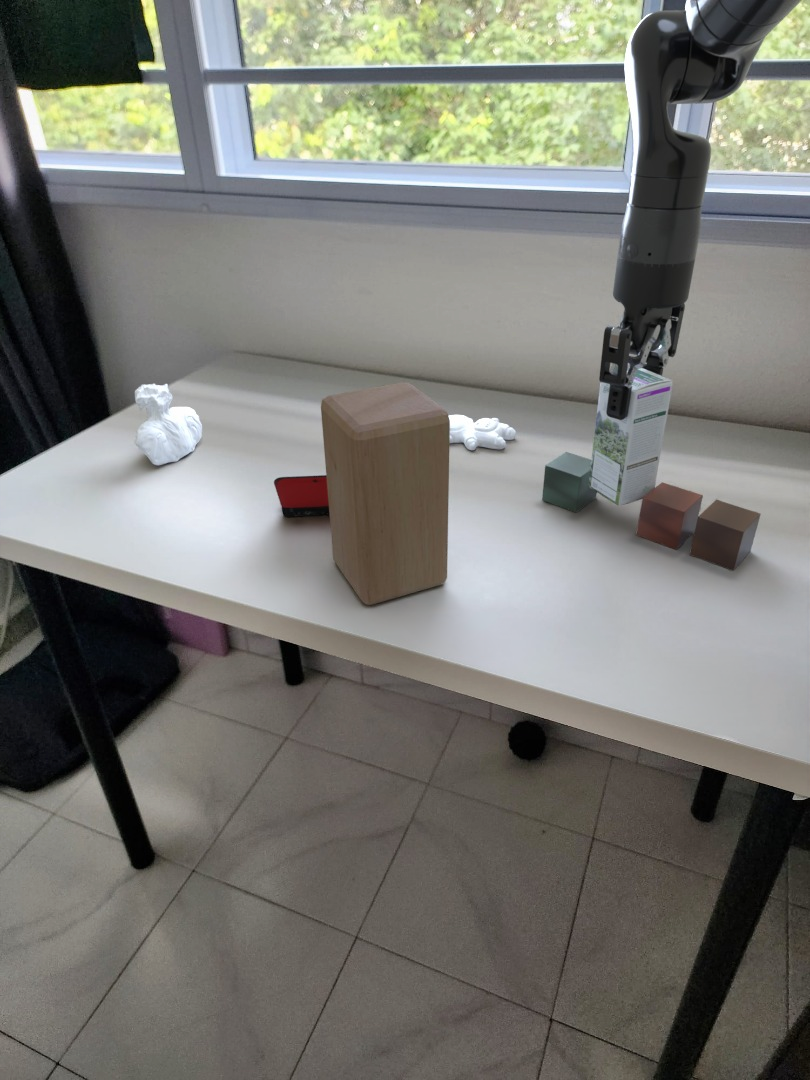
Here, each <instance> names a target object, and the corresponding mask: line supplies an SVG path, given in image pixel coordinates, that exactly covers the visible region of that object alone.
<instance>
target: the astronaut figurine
mask: <svg viewBox="0 0 810 1080" xmlns="http://www.w3.org/2000/svg"><path fill="white" fill-rule="evenodd" d="M448 416H449V419H450V443H449V445H450V444H457V443H458V444H459V443H463V444H464V446H465V448H466V449H467V450H469V451H475V450H476V449H477V448H478V447H480V448H481V447H482V448H487V449H491V450H503V449H504V448H505V447H506V444H507V442H506V440H507V441H513V440H515V439H516V436H517V431H516V430H515V429H514V427H510V425H509V424H507V423H502V422H500V419H499V418H497V417H492V418H488V417H483V418H480V419H478V420H476V421H475V422H474V420H473V418H470V417H469V416H466V415H463V414H451V415H450V414H449V415H448Z"/></svg>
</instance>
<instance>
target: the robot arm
mask: <svg viewBox="0 0 810 1080" xmlns="http://www.w3.org/2000/svg"><path fill="white" fill-rule="evenodd" d="M802 1H803V0H686V2H685V7H684V8H685V9H682V10H679V9H675V10H671V9H670V10H656V11H653V12H650V13H649V14H647V15H646V16H644V17H643V19H641V20H640V21H639V23H638V24H637V26H636V27H635V28H634V30H633V31H632V34H631V35H630V38H629V40H628V43H627V47H626V51H625V58H624V77H625V86H626V91H627V93H626V94H627V99H628V107H629V114H630V115H629V116H630V125H631V142H632V163H631V170H630V172H631V173H630V180H629V186H628V195H627V203H626V207H625V213H624V216H623V220H622V224H621V227H620V228H621V229H620V235H619V241H618V243H619V244H618V251H617V258H616V265H615V272H614V282H613V290H612V297H613V299H614V300H615V301H616V302H618V303H620V304H621V305H622V307H623V308H624V310H623V313H622V316H621V319H620V322H619V325H618V326H613V325H606V327H605V329H604V331H603V337H602V338H603V340H602V349H601V350H602V351H601V357H600V366H599V367H600V369H599V375H598V377H599V378H598V380H599V382H600V383H601V382H603V383H607V384H610V389H609V396H608V403H607V411H606V413H607V415H608V416H609V417H611V418H615V419H619V420H623V419H624V418H626V417H627V416H628V410H629V404H630V397H631V391H632V384H633V381H634V378H635V376H636V373H637V370H638V369H639V368H643V369H646V370H648V371H651V372H653V373H656V374H658V375H660V376H663V373H664V368H666V366H668V363H669V358H674V357H675V356H676V353H677V350H678V349H677V348H678V344H679V338H680V333H681V328H682V323H683V318H684V313H685V309H686V304H685V303H686V302H687V301H688V299H689V295H690V289H691V286H692V285H691V284H692V280H693V275H694V274H693V273H694V270H695V269H694V268H695V262H696V258H697V257H696V256H697V252H698V246H699V241H700V234H701V225H702V212H703V211H702V210H703V203H704V198H705V192H706V186H707V182H708V176H709V175H708V174H709V171H710V165H711V159H712V146H711V142H710V141H709V140H708V139H707V138H706V137H704V136H701V135H698V134H695V133H691V132H686V131H685V132H684V131H681V130H678V129H675V128H674V126H673V125H672V123H671V119H670V116H669V112H668V111H669V110H668V105H687V104H688V105H689V104H693V105H694V104H695V105H696V104H697V105H698V104H700V105H701V104H713V103H717V102H719V101H722V100H724V99H726V98H728V97H730V96H731V95H733V94H734V93H736V91H738V90H739V89H740V88H741V86H742V85H743V83H744V81H745V80H746V77H747V75H748V72H749V71H750V68H751V66H752V64H753V61H754V60H755V57H756V55H757V54H758V53H759V50H760V48H761V46H762V45H763V42H764V40H765V38H766V37H767V36H768V35H769V34H770V33H771V32H772V30H774V29H775V28H776V27H777V26H778V25H779V24H780V23H781V22H782V21H783V20H784V19H786V17H787V16H788V15H789V14H790V13H791V12H792V11H794V9H795V8H796V7H797V6H798V5H799V4H800V3H802ZM632 355H633V356H632ZM628 367H629V370H628V373H627V368H628Z"/></svg>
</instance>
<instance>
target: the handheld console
mask: <svg viewBox="0 0 810 1080" xmlns="http://www.w3.org/2000/svg"><path fill="white" fill-rule="evenodd" d="M273 484H274V485H273V486H274V488H275V492H276V495H277V496H278V501H279V504H280V507H281V513H282V515H283V517H285V518H295V517H313V516H326V515H330V513H329V501H328V489H327V477H326V474H321V475H319V474H318V475H301V476H300V475H297V476H296V475H295V476H280V477H276V478H275V479H274V481H273Z"/></svg>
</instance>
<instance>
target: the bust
mask: <svg viewBox="0 0 810 1080" xmlns="http://www.w3.org/2000/svg"><path fill="white" fill-rule="evenodd" d="M168 385H169V384H168V383H164V384H163V385H159V384H156V383H150V384H149V383H148V384H144V383H143V384H141V385H140V386H138V388H136V389H135V390H134V399H135V404H136V405H137V407H138V409H139V411H140V412H142V411H144V410H146V419H145V420H144V421H143V422H142V423H141V424H140V425H139V427H138V428H137V430H136V435H135V439H134V444H135V446H136V447H137V449H138V450H139V451H141V453H143V454H144V455H145V456H146V457H147V458H148V460H149V461H150V462H151V464H153V465H154V466H162V465H165V464H167V463H168V464H169V463H176V462H179V460H180V459H182V458H184V457H185V456H187V455H189V454H190V453H193V452H194V451H195V450H196V445H197V444H199V442H200V441H201V439H202V435H203V424H202V422H201V421H200V416H199V415H198V414H197V413H196V410H195V409H194V408H191V407H189V406H172V407H170V405H171V403H172V400H173V395H172V393H171V392H170V390H169V387H168Z"/></svg>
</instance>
